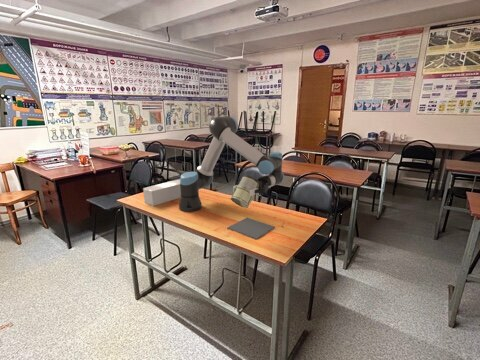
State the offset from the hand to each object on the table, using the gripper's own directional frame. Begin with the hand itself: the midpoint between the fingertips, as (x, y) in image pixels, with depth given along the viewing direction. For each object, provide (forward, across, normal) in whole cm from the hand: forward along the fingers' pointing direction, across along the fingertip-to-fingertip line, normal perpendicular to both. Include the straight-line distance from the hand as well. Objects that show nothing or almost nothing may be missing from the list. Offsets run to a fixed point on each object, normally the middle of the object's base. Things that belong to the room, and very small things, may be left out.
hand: (241, 191), depth 135 cm
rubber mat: (-9, 0, -24) cm, 26 cm away
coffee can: (+2, 0, -6) cm, 6 cm away
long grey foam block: (-9, +77, -24) cm, 81 cm away
